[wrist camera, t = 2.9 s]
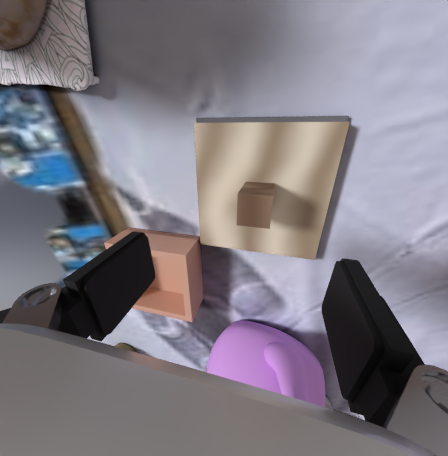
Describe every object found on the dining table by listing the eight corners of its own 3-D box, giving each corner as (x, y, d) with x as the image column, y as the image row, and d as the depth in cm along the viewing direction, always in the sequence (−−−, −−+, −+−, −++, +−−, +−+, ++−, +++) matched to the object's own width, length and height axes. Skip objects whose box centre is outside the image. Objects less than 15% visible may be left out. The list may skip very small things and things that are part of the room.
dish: (199, 236, 28) (185, 255, 24) (203, 297, 33) (192, 322, 29) (128, 227, 31) (104, 242, 26) (142, 285, 36) (123, 306, 32)
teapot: (305, 396, 38) (319, 533, 25) (207, 351, 40) (172, 457, 27) (384, 331, 27) (482, 512, 14) (245, 273, 29) (217, 387, 16)
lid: (347, 122, 18) (373, 117, 13) (313, 256, 25) (323, 287, 20) (196, 123, 21) (171, 119, 16) (202, 241, 28) (185, 265, 23)
